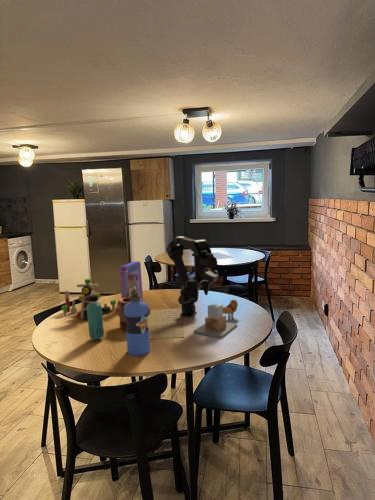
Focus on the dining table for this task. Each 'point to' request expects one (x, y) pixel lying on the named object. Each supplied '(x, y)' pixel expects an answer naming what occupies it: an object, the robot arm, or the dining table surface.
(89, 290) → the toy construction set
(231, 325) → the tower base
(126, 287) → the cereal box
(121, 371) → the dining table surface
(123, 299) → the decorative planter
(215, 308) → the slate-gray cube
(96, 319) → the teal caped figurine
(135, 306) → the water bottle
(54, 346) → the dining table surface
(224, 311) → the lion figurine
